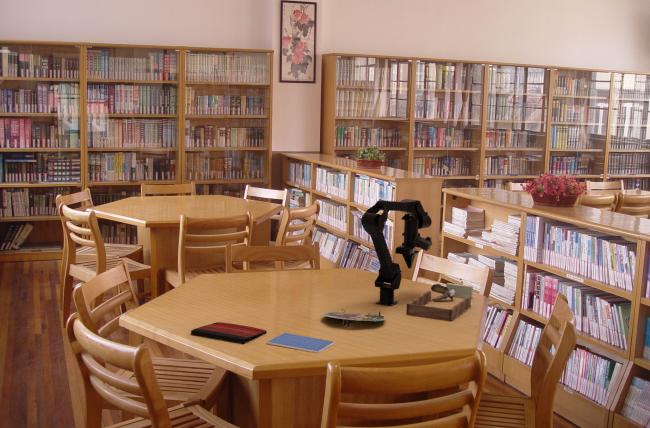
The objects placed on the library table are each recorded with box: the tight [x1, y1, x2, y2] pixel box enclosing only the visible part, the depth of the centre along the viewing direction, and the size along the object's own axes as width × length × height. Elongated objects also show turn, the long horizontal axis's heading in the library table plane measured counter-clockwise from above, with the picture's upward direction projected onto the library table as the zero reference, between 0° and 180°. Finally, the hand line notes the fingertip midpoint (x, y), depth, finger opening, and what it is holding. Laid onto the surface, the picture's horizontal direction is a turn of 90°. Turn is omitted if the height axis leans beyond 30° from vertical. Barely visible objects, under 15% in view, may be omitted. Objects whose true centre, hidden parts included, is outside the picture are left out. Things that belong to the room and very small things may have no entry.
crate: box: [405, 290, 472, 322], centre depth 299 cm, size 25×17×4 cm
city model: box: [322, 308, 387, 328], centre depth 282 cm, size 25×23×6 cm
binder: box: [190, 321, 268, 345], centre depth 263 cm, size 16×2×21 cm
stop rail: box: [445, 282, 474, 300], centre depth 321 cm, size 2×10×5 cm, turn 64°
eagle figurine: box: [430, 283, 455, 302], centre depth 315 cm, size 8×7×9 cm
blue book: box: [266, 332, 336, 354], centre depth 253 cm, size 19×13×1 cm, turn 63°
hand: (409, 268), depth 318 cm, fingers closed
